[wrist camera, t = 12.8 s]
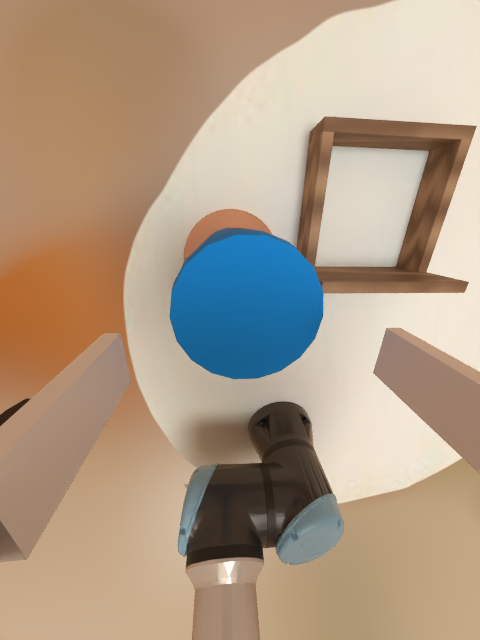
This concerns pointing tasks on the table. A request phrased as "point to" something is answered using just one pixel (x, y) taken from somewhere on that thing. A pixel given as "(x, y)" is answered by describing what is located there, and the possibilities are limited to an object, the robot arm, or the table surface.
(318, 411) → the table surface
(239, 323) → the thermos
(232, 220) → the terracotta disc
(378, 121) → the frame
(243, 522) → the robot arm
